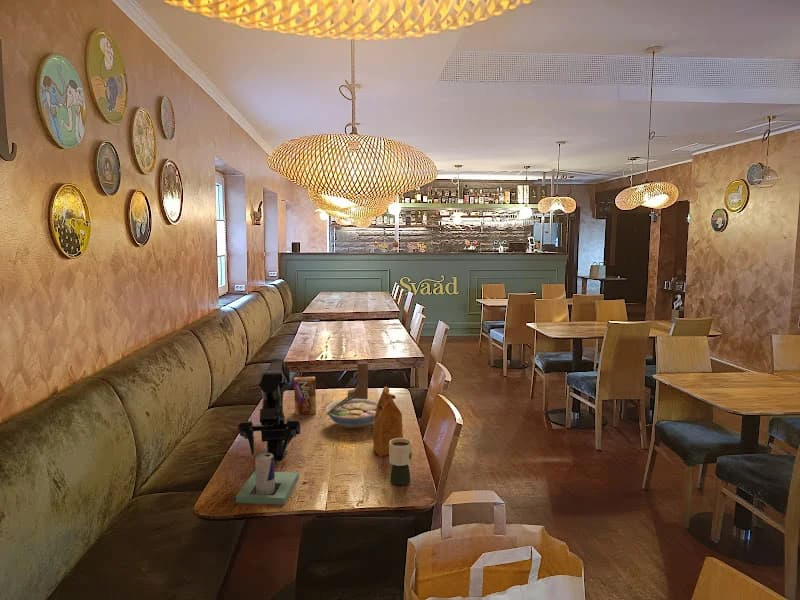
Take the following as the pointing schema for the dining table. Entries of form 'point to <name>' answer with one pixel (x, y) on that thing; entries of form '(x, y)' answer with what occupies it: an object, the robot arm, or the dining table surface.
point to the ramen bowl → (352, 412)
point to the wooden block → (361, 382)
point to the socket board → (284, 486)
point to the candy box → (305, 395)
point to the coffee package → (386, 423)
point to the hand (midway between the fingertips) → (268, 454)
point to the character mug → (400, 460)
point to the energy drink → (265, 474)
